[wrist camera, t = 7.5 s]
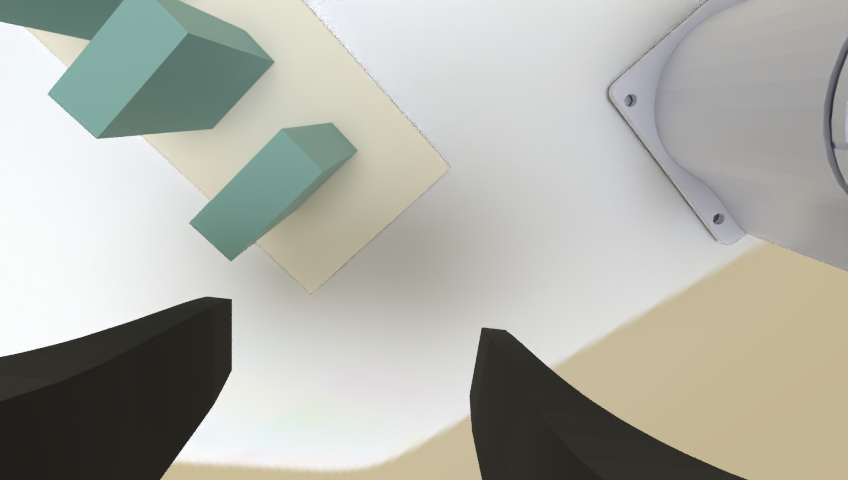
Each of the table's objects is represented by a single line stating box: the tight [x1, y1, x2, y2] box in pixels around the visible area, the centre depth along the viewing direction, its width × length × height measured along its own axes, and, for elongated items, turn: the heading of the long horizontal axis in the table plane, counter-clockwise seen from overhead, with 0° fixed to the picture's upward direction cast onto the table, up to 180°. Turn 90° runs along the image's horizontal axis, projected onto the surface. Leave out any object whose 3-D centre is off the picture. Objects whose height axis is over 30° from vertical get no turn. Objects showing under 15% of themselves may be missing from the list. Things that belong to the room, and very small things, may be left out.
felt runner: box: [25, 0, 451, 294], centre depth 18 cm, size 26×9×1 cm, turn 42°
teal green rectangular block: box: [190, 122, 358, 261], centre depth 16 cm, size 2×4×7 cm, turn 132°
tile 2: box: [48, 0, 275, 139], centre depth 15 cm, size 2×4×7 cm, turn 133°
